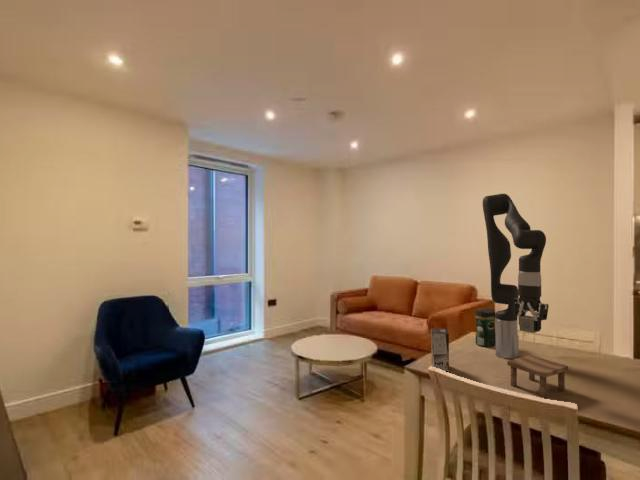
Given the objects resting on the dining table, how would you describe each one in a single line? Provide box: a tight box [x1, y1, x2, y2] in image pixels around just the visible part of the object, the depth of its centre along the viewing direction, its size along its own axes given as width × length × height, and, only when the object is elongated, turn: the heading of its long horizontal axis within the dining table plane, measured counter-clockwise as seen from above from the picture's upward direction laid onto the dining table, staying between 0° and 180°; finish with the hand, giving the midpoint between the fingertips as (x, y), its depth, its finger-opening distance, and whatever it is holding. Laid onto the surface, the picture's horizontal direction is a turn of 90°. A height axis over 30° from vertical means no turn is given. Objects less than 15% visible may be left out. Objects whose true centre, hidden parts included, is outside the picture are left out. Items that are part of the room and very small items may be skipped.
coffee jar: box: [474, 307, 496, 348], centre depth 186 cm, size 10×8×19 cm
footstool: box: [506, 354, 569, 399], centre depth 135 cm, size 14×14×9 cm
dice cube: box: [518, 315, 539, 334], centre depth 136 cm, size 5×5×5 cm
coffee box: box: [430, 327, 450, 373], centre depth 156 cm, size 9×6×16 cm
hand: (529, 328), depth 136 cm, fingers closed on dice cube, 5 cm apart
